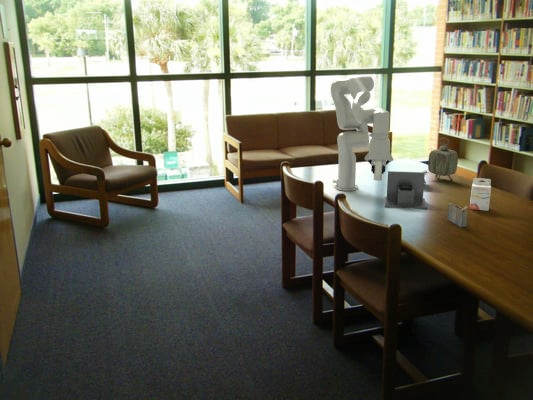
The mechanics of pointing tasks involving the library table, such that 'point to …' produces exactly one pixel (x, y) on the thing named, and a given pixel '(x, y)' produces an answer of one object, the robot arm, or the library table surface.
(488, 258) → the library table surface
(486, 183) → the ink cartridge box
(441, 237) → the library table surface
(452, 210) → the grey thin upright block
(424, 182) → the wall
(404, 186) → the cup bracket
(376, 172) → the off-white rounded cylinder
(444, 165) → the tabletop clock
